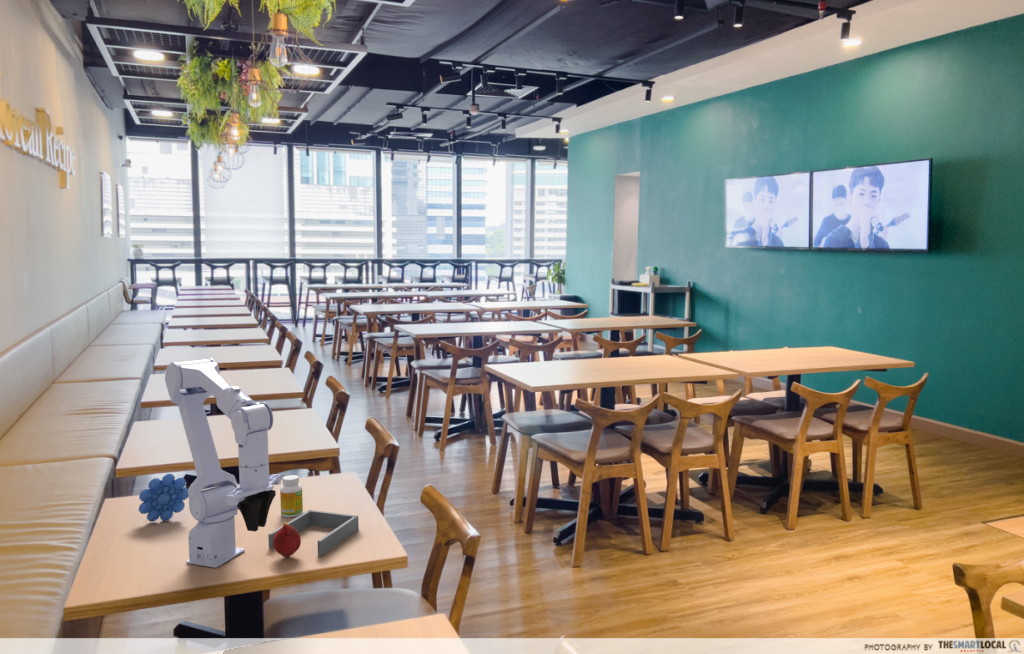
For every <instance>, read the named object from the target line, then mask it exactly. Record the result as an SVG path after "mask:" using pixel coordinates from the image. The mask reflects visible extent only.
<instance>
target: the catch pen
mask: <svg viewBox="0 0 1024 654" xmlns="http://www.w3.org/2000/svg"><path fill="white" fill-rule="evenodd" d="M287 524H289V525H290V526H292V527H294V528H295V529H296V530H297V531H298V533H299V534H300V531H301V532H302V531H303V530H306V529H308V527H310V526H317V527H325V528H331V529H333V530H331V531H330V532H329V533H327V534H325V535H324V536H323V537H321V538H319V539H318V540H317V557H320V556H321V557H323V556H324V555H326V554H327V553H328V552H330V551H331V550H333V549H335V547H337V546H338V545H339V544H341V543H342V542H344V541H345V540H346V539H348V538H349V537H351V536H352V535H354V534H355V533H356V532H357V531H359V529H360V527H359V515H355V514H345V513H339V512H338V513H337V512H331V511H330V512H329V511H322V510H314V509H309V510H307V511H305V512H304V513H302V514H301V515H299V516H296V517H294V519H291V520H290V521H288V522H287ZM282 527H283V525H282V526H280V527H278V528H276V529H275V530H273V531H271V532H269V533H268V536H267V537H268V549H269V550H274V547H273V539H274V536H275V534H276V532H277V531H278V530H279V529H280V528H282Z"/></svg>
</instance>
